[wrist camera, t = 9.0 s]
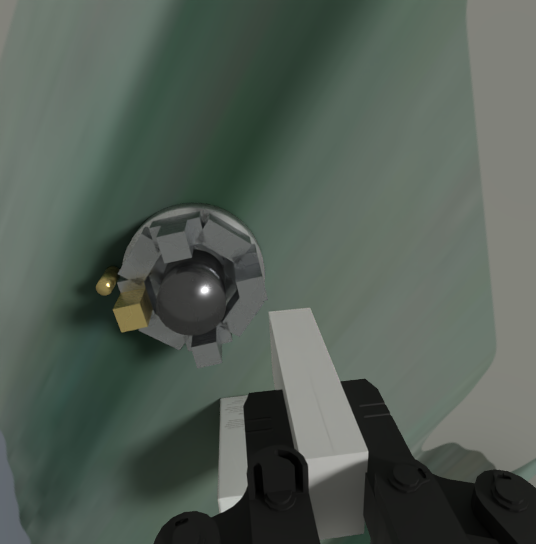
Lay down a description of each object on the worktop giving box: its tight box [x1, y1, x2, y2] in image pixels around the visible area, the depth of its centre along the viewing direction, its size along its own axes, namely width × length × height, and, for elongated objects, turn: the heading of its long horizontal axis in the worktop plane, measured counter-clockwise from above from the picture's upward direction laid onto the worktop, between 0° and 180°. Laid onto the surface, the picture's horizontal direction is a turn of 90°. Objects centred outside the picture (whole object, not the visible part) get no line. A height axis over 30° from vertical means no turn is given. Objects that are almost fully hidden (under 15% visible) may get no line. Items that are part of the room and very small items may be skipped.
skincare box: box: [217, 395, 248, 513], centre depth 49 cm, size 8×7×16 cm
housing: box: [122, 203, 265, 336], centre depth 43 cm, size 15×15×9 cm
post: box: [96, 266, 120, 295], centre depth 44 cm, size 2×2×4 cm
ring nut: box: [113, 211, 268, 368], centre depth 42 cm, size 14×14×6 cm
